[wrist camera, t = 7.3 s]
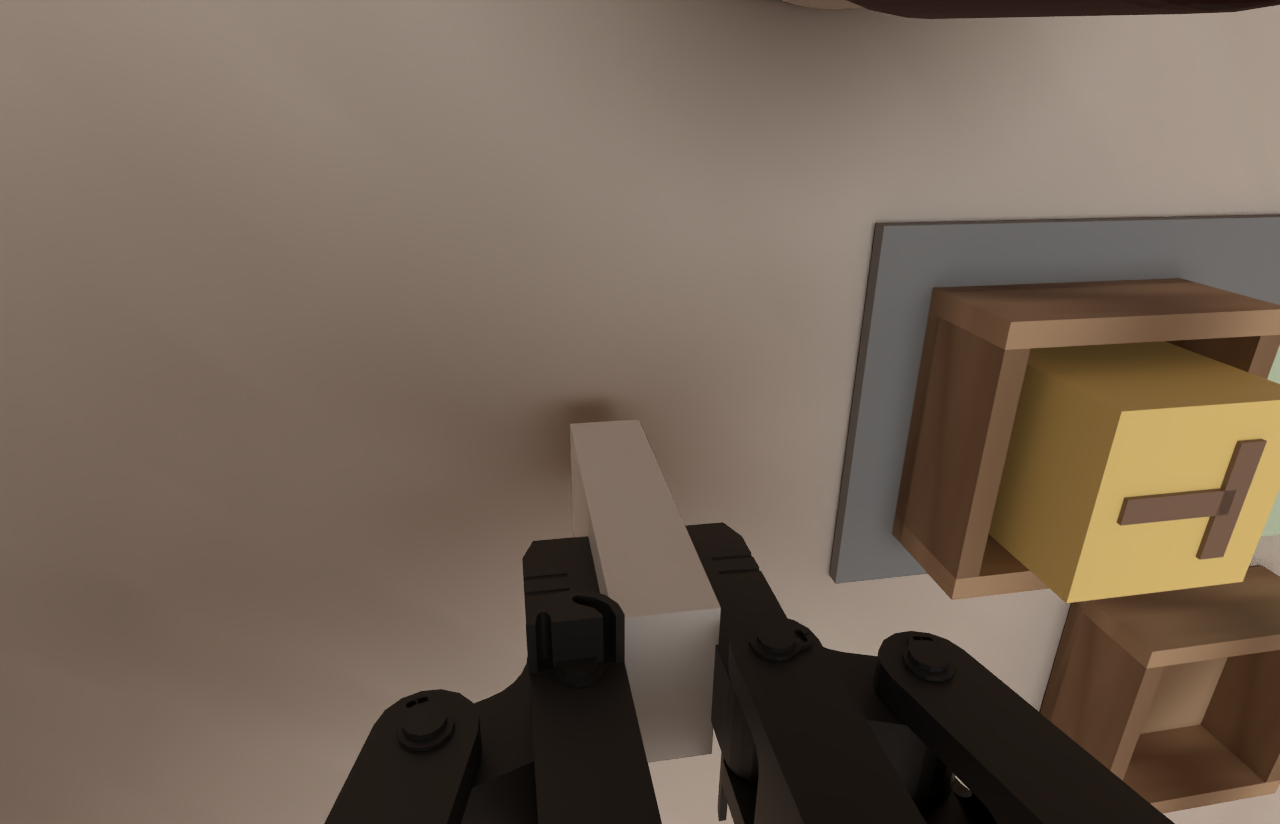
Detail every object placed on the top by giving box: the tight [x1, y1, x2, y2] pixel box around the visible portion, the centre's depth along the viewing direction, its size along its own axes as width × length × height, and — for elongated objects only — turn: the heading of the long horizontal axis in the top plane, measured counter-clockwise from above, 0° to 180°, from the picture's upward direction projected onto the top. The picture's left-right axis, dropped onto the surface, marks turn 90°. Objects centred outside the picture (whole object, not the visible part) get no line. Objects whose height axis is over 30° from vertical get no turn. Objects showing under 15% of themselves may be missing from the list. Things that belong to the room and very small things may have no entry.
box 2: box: [1040, 566, 1280, 813], centre depth 24 cm, size 7×7×3 cm
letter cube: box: [989, 341, 1280, 603], centre depth 18 cm, size 4×4×5 cm
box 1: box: [892, 278, 1280, 600], centre depth 19 cm, size 7×7×3 cm
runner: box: [830, 215, 1280, 584], centre depth 21 cm, size 20×10×1 cm, turn 89°
